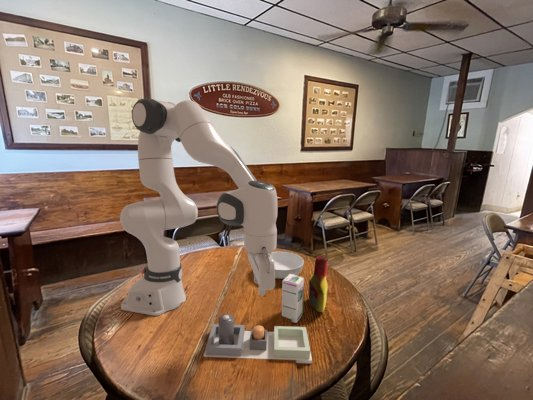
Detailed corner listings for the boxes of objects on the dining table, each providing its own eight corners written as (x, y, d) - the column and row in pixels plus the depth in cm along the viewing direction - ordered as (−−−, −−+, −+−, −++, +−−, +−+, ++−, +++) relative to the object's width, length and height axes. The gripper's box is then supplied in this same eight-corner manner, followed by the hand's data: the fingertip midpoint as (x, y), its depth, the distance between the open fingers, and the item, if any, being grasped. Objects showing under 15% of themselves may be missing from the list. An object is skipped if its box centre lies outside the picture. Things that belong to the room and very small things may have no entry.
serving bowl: (305, 266, 133) (306, 253, 131) (300, 288, 113) (300, 272, 111) (264, 261, 138) (265, 248, 136) (252, 281, 118) (252, 266, 116)
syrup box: (296, 323, 90) (298, 284, 87) (280, 318, 93) (282, 279, 90) (302, 314, 95) (305, 277, 92) (287, 309, 98) (289, 272, 95)
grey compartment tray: (203, 359, 74) (202, 347, 73) (212, 332, 85) (211, 321, 84) (311, 363, 74) (312, 351, 73) (306, 335, 84) (307, 324, 84)
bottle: (329, 315, 94) (333, 263, 90) (310, 315, 95) (314, 262, 91) (323, 297, 106) (326, 249, 102) (306, 296, 106) (309, 249, 102)
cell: (217, 348, 77) (217, 321, 75) (220, 337, 81) (220, 312, 80) (232, 348, 77) (232, 322, 75) (234, 337, 81) (234, 312, 80)
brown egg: (252, 343, 77) (252, 332, 76) (253, 335, 80) (253, 325, 80) (263, 343, 77) (264, 332, 76) (264, 336, 80) (264, 325, 80)
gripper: (282, 255, 63) (280, 308, 66) (263, 229, 83) (262, 270, 86) (256, 257, 62) (255, 311, 65) (243, 230, 81) (243, 272, 84)
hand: (259, 288), depth 75 cm, fingers open, 5 cm apart
